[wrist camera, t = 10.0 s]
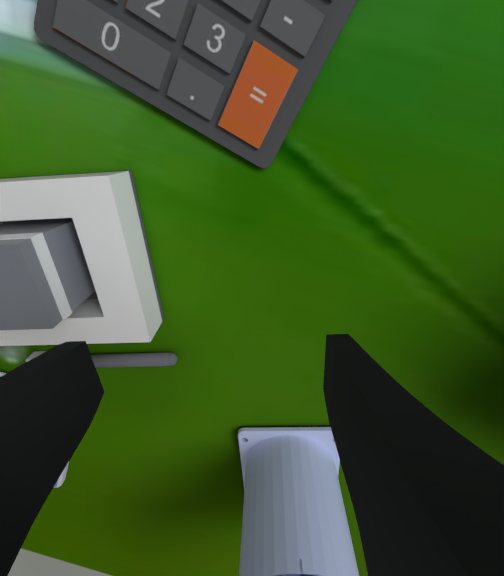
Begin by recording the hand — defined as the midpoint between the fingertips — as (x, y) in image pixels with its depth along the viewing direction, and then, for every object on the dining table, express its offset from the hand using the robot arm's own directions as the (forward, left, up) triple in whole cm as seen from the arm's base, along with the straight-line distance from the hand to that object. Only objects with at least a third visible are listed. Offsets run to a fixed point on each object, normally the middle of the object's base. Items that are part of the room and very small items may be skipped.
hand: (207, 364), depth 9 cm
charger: (+1, +10, -9) cm, 13 cm away
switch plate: (0, +12, -9) cm, 15 cm away
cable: (-7, +9, -9) cm, 15 cm away
